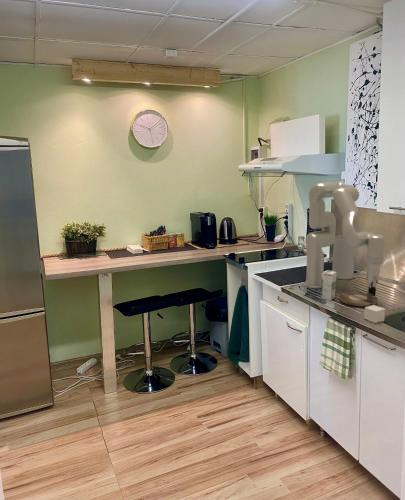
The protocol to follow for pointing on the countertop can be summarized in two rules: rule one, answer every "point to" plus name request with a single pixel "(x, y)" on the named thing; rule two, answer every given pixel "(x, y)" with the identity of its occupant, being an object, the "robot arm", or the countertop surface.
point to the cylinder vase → (343, 258)
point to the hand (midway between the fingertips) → (371, 295)
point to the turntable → (358, 298)
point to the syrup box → (328, 285)
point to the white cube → (374, 313)
